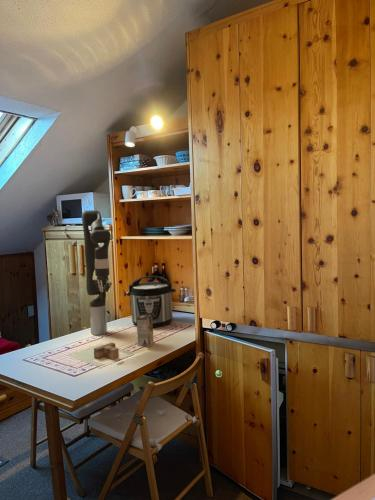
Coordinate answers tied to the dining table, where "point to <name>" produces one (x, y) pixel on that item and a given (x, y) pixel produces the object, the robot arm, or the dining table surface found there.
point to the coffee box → (145, 330)
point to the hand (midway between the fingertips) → (103, 298)
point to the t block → (106, 351)
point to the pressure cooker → (151, 300)
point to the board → (88, 357)
